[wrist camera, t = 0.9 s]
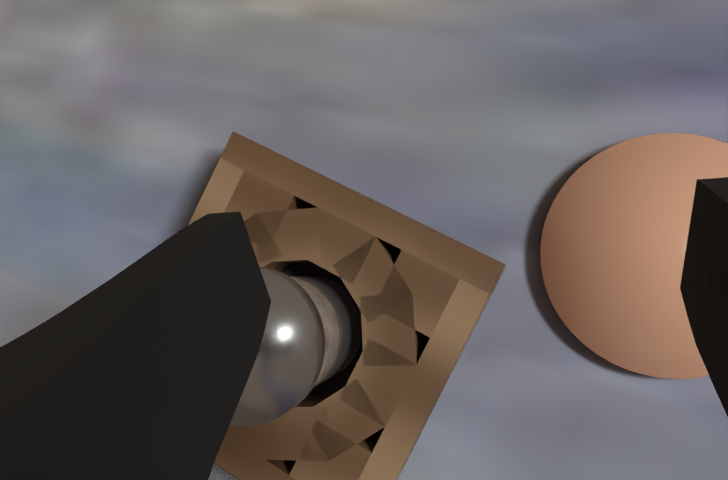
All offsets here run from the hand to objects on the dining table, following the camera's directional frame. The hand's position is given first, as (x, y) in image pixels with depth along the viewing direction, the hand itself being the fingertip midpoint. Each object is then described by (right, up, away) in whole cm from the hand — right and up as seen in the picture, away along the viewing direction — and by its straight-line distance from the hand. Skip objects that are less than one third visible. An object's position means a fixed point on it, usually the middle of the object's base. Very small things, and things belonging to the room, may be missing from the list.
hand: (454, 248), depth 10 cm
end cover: (-4, -4, +16) cm, 17 cm away
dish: (+10, 0, +13) cm, 16 cm away
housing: (-4, -4, +16) cm, 16 cm away
